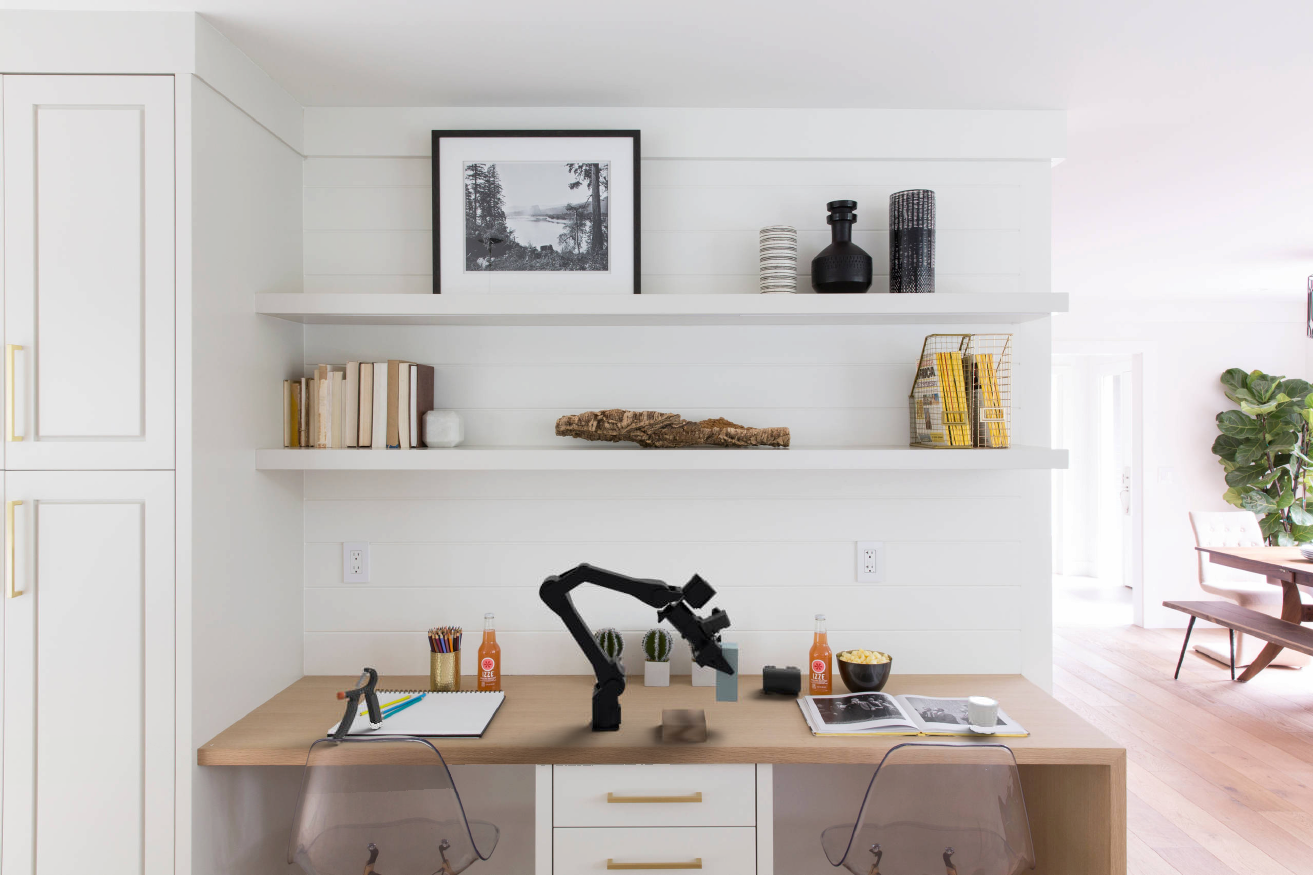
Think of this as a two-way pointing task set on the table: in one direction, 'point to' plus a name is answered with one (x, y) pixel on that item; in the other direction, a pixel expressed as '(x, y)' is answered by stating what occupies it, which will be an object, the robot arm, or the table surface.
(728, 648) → the pillar
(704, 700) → the table surface
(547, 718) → the table surface
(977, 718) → the white cylinder
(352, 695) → the hand grip strengthener
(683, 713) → the walnut block
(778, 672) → the black rounded block
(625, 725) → the table surface
